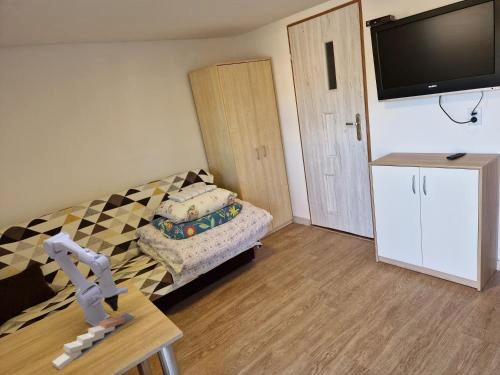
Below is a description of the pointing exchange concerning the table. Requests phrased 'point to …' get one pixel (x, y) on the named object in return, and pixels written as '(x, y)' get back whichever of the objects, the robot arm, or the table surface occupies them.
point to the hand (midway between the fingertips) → (115, 309)
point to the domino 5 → (111, 322)
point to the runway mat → (108, 334)
